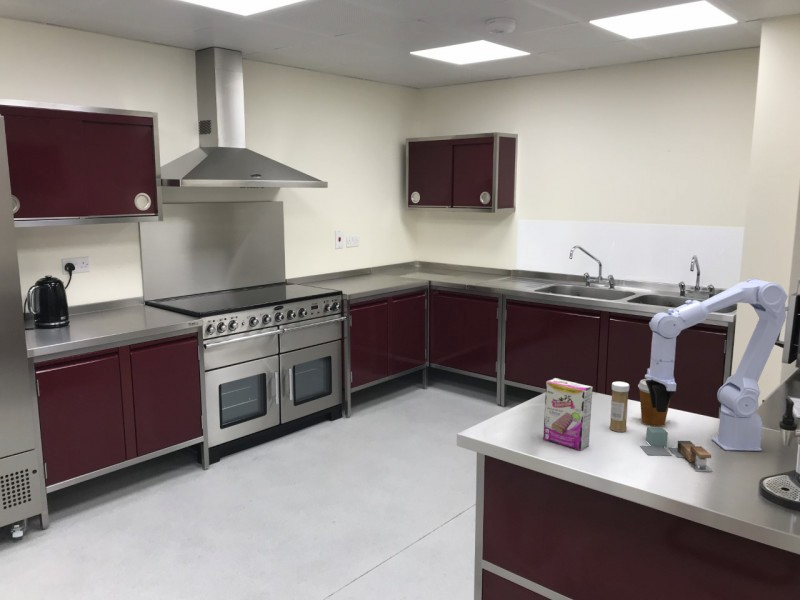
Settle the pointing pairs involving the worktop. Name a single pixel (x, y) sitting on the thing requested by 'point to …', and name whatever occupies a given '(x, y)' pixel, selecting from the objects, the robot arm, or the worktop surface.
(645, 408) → the disposable coffee cup
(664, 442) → the block
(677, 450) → the foot pad
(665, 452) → the seat pad
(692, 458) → the leg
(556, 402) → the candy bar box
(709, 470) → the flanged metal stem
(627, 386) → the sprinkles bottle
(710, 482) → the worktop surface
